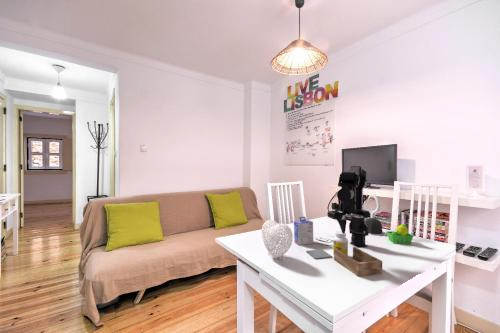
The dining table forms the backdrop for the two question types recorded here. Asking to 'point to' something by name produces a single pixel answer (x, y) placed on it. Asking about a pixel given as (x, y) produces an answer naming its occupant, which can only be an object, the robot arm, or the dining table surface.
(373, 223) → the hook
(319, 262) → the dining table surface
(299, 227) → the ink cartridge box
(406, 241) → the fruit basket
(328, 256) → the coaster
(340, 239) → the pill bottle
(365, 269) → the shelf bay
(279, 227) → the decorative heart
